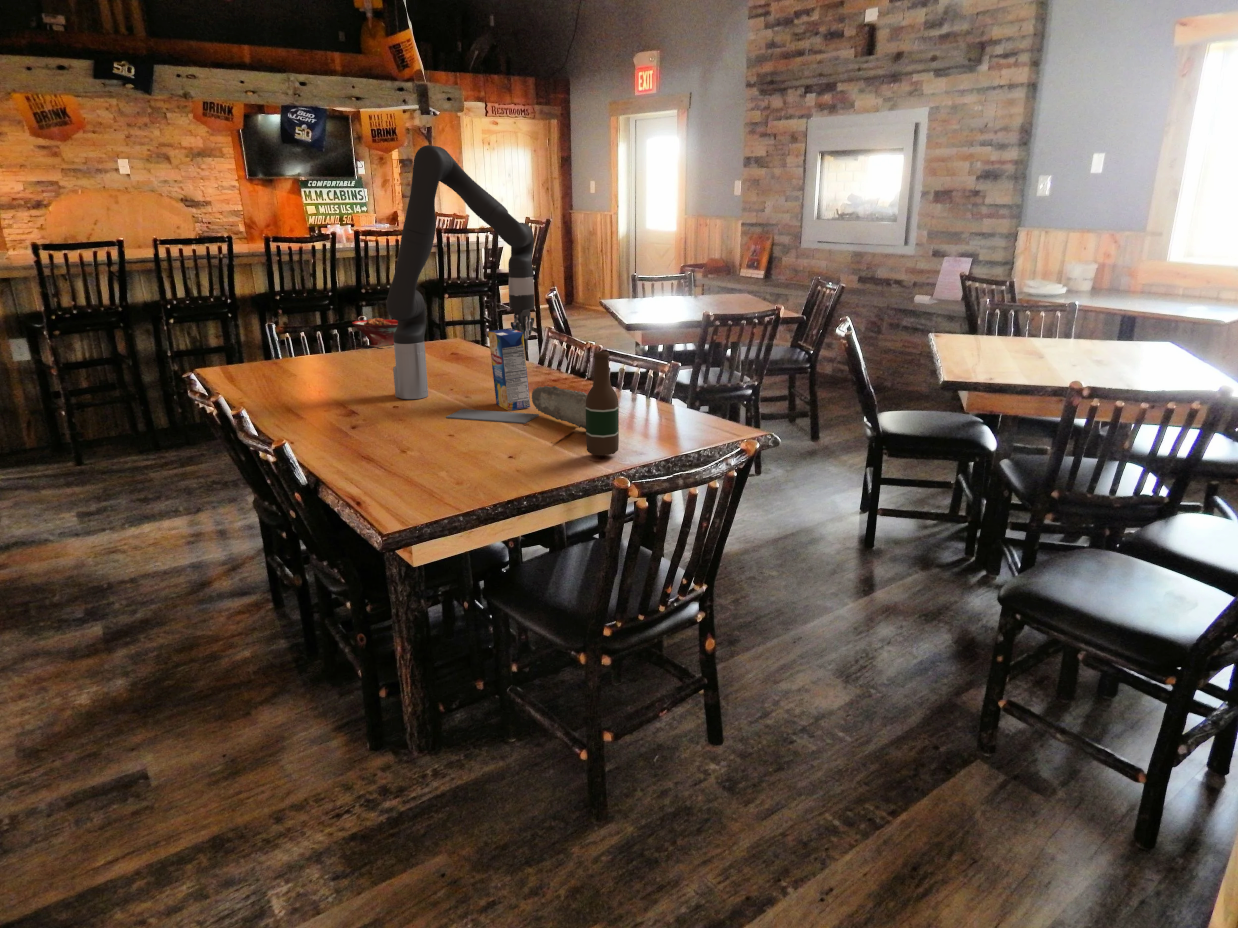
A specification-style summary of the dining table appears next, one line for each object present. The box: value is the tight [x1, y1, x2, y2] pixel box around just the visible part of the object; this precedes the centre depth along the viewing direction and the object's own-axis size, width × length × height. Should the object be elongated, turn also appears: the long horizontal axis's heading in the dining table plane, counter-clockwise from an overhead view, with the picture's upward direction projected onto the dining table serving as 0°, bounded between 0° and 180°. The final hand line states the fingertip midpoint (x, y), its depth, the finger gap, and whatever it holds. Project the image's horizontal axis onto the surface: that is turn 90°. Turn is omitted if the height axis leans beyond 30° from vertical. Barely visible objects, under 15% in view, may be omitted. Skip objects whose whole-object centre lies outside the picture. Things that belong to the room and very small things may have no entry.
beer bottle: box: [585, 350, 620, 456], centre depth 194 cm, size 8×8×24 cm
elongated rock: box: [531, 385, 588, 430], centre depth 221 cm, size 35×5×10 cm, turn 40°
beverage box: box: [487, 327, 531, 412], centre depth 242 cm, size 7×11×22 cm, turn 27°
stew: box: [351, 317, 398, 350], centre depth 347 cm, size 28×24×16 cm
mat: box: [445, 408, 540, 425], centre depth 232 cm, size 24×10×1 cm, turn 73°
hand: (523, 351), depth 249 cm, fingers closed
